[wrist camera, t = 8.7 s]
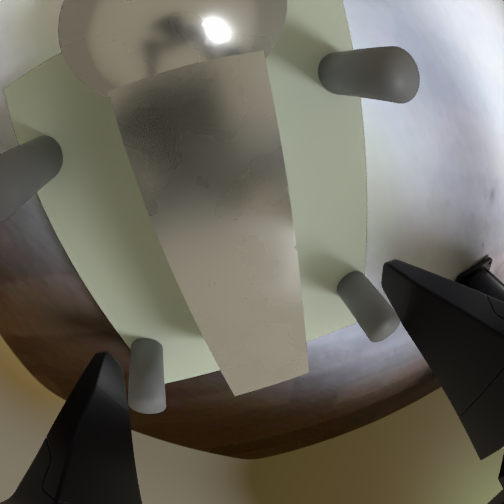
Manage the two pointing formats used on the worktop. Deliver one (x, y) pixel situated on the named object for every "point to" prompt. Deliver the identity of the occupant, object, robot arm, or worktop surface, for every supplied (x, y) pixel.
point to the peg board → (138, 220)
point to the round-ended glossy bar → (205, 163)
